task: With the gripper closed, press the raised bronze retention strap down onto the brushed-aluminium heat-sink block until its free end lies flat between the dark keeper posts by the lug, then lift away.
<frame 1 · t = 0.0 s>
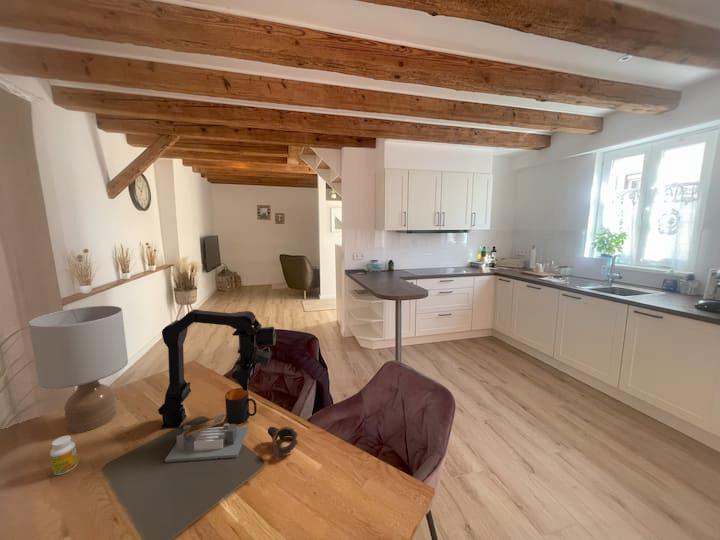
hand: (249, 383, 110), 15 cm above the table, fingers open, 9 cm apart
vr controller: (282, 446, 99), on the table
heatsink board: (209, 444, 99), on the table
strap: (202, 426, 98), point 7 cm above the table, hinge at 20.0°
mug: (242, 419, 112), on the table
lamp: (93, 420, 110), on the table
supplement bottle: (65, 468, 88), on the table
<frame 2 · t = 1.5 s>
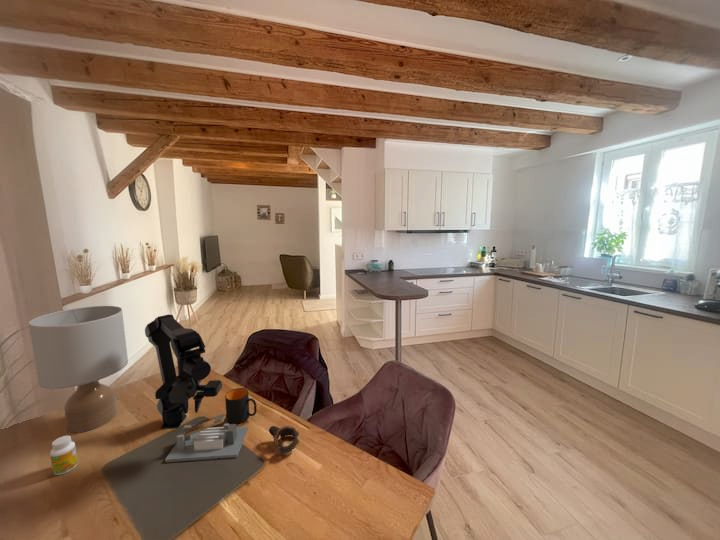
hand: (191, 412, 96), 13 cm above the table, fingers open, 3 cm apart
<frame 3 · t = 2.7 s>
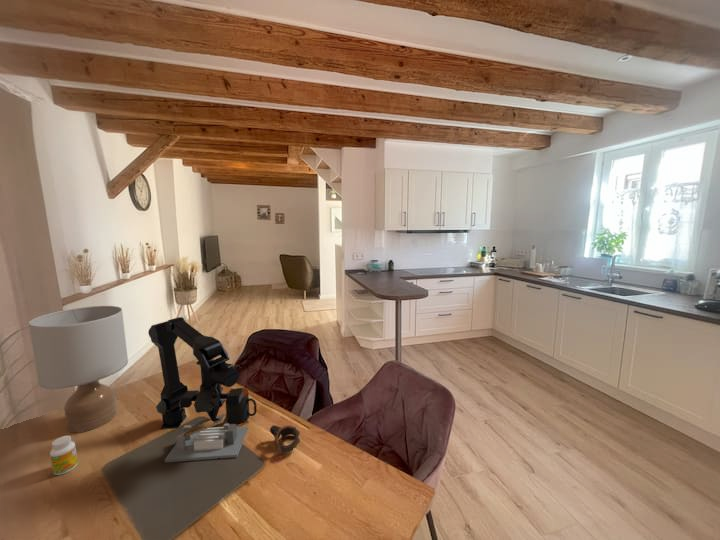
hand: (214, 420, 98), 9 cm above the table, fingers closed
strap: (202, 426, 98), point 7 cm above the table, hinge at 19.9°, touching gripper
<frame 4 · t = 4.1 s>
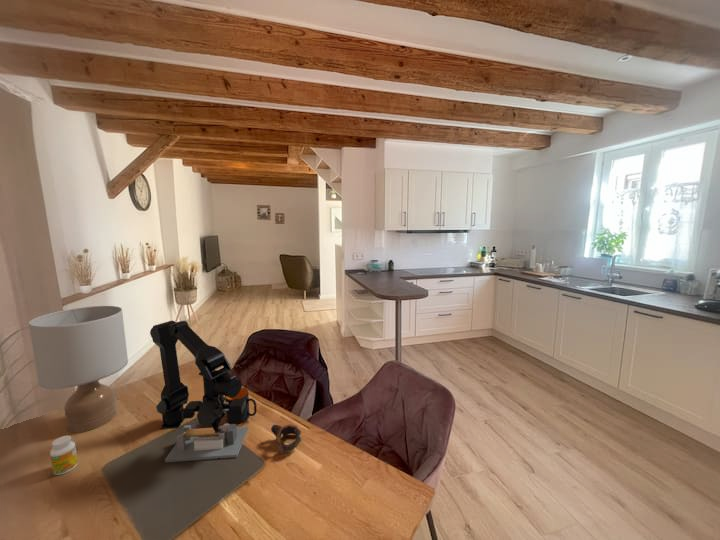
hand: (216, 430, 98), 5 cm above the table, fingers closed, pressing on strap
strap: (204, 431, 98), point 5 cm above the table, hinge at 0.9°, touching gripper
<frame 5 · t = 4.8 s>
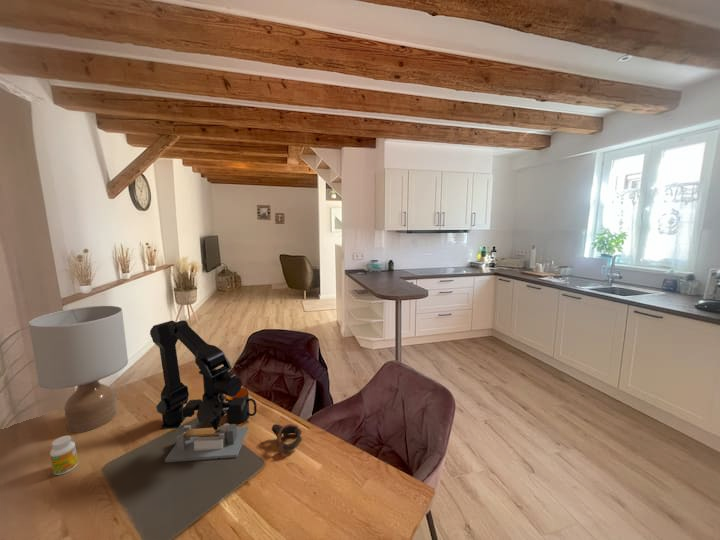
hand: (216, 429, 98), 6 cm above the table, fingers closed
strap: (204, 431, 98), point 5 cm above the table, hinge at 0.9°
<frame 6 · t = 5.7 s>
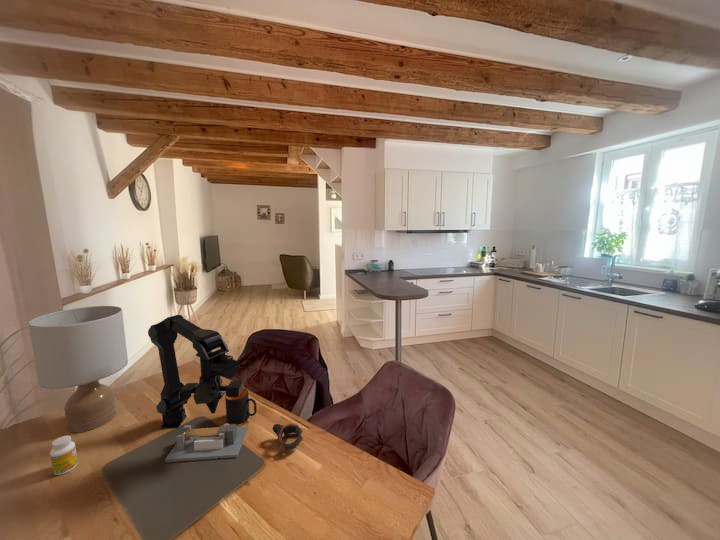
hand: (213, 412, 97), 12 cm above the table, fingers closed
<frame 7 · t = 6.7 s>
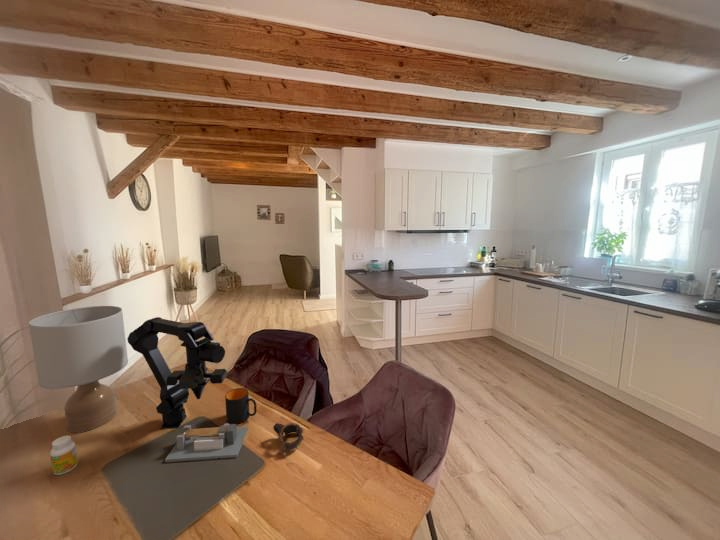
hand: (199, 398, 104), 13 cm above the table, fingers closed
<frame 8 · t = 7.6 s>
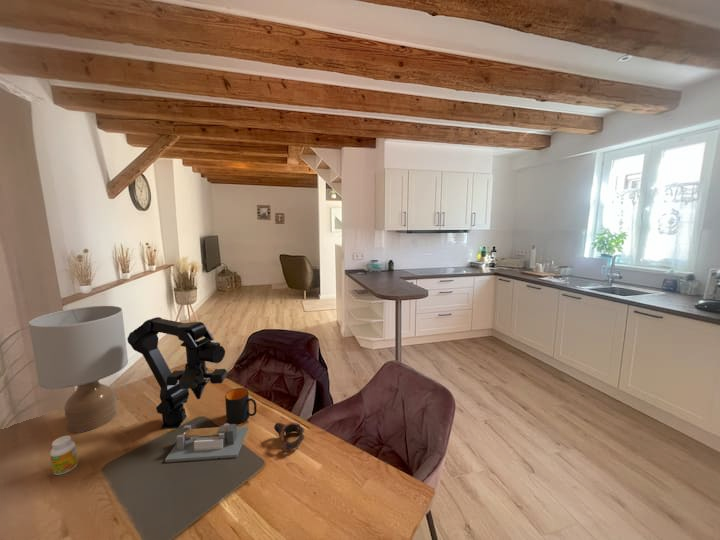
hand: (199, 398, 104), 13 cm above the table, fingers closed
at the end: strap at +1° (first picture: +20°); mug moved 0.2 cm from its start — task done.
